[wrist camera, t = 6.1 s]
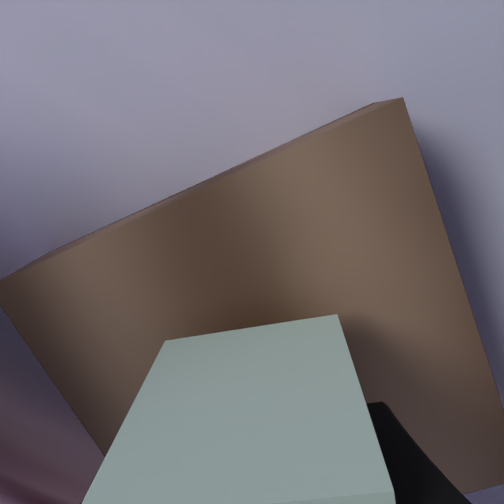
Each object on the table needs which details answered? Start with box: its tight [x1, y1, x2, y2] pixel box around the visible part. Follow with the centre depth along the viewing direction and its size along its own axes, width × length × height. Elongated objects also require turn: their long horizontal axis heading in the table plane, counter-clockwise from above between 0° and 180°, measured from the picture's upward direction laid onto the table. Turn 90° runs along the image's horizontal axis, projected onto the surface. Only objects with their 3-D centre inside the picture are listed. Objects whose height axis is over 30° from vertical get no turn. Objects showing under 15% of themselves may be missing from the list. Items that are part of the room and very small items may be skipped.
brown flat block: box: [0, 97, 504, 495], centre depth 13 cm, size 12×12×3 cm
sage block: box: [82, 314, 396, 504], centre depth 8 cm, size 4×4×5 cm
